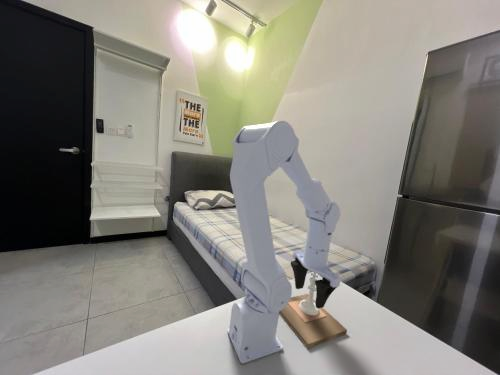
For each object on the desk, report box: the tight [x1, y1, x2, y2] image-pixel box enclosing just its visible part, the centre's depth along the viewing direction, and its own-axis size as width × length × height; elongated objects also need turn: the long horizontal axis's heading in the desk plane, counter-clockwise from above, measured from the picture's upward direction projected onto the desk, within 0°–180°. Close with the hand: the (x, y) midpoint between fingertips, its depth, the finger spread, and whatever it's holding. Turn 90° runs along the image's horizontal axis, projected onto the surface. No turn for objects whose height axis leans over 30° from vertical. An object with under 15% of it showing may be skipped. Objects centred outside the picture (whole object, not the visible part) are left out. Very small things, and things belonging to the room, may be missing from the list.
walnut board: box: [279, 293, 348, 349], centre depth 50 cm, size 12×14×1 cm
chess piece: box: [299, 272, 319, 315], centre depth 52 cm, size 5×5×10 cm
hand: (308, 296), depth 52 cm, fingers open, 7 cm apart
